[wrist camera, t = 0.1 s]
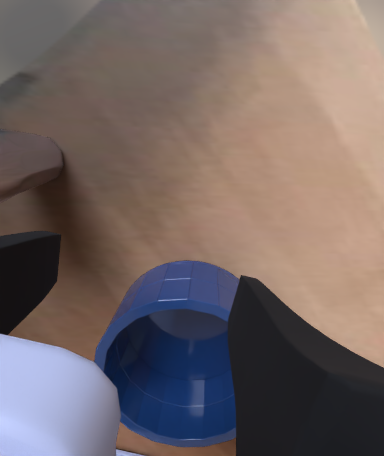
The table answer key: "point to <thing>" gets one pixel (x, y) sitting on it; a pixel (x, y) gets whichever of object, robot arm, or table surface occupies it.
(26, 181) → the milkshake
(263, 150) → the table surface
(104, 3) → the table surface
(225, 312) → the pot
